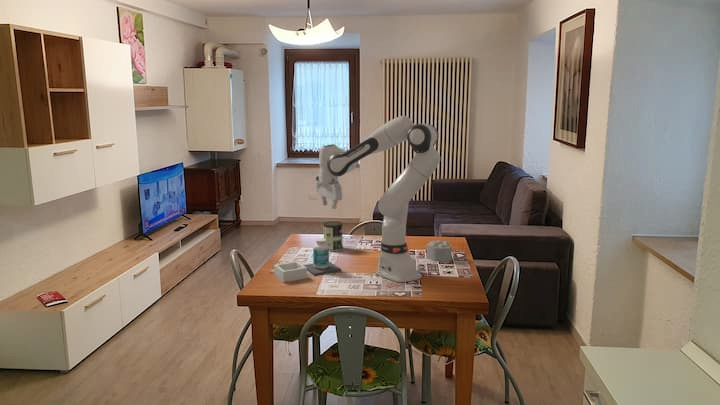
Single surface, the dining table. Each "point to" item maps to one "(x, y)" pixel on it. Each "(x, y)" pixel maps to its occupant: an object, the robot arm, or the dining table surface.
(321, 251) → the pill bottle
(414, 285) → the dining table surface
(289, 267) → the holder
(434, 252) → the grey bumpy block
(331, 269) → the mat
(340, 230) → the coffee can
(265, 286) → the dining table surface
